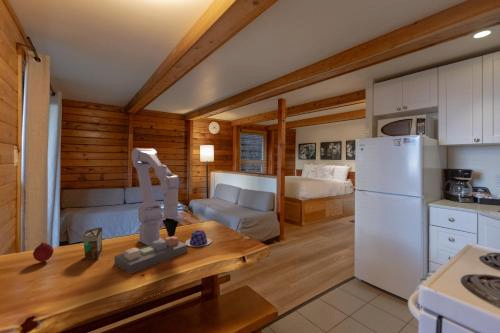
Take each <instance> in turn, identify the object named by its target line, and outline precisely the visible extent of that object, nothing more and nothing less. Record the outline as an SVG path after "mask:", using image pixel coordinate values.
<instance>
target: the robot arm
mask: <svg viewBox="0 0 500 333" xmlns="http://www.w3.org/2000/svg"><path fill="white" fill-rule="evenodd" d="M131 161H132V164H133V168H135V169H136V173H137V178H138V182H139V188H140V193H141V198H142V203H141V205H140V206H138V209H137V214H138V215H137V216H138V222H140V225H139V228H138V229H139V238H138V239H137V242H140V243H142V244H143V245H144V244H145V246H148V245H151V244H152V242H154V241H157V240H161V239H162V240H164V238H161V237H160V235H161V234H160V222H161V221H162V224H163V225H164V227H165V229H166V233H167V237H172V236H174V237H175V236H176V230H177V227H178V225H179V223H183V222H185V221H184V219H185V217H184V216H182V215H181V214H179V188H180V187H181V185H182V182H181V178H180V176H179V174H174V173H172V171H171V170H170V169H169V167H167V165H166V164H162V162H161V161H160V160H159V158H158V152H157V150H156V148H138V147H134V148H133V150H132V151H131ZM151 167H152V168H153V169H154V171H153V172H154V174H155V175H156V176H155V177H156V178H157V179H158V180H159V181H160V187H161V193H162V195H163V208H162V206H161V205H162V204H161V203H160V202H158V201H156V199H155V195H154V192H153V185H152V180H151V177H150V170H149V169H150V168H151Z"/></svg>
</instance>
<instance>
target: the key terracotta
mask: <svg viewBox="0 0 500 333" xmlns="http://www.w3.org/2000/svg"><path fill="white" fill-rule="evenodd" d="M163 239H164V241H167V246H169V247H171V246H174V245H177V244H178V241H179V237H177V236H175V235H174V236H172V237H169V236H167V237H165V238H163Z"/></svg>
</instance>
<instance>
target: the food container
mask: <svg viewBox="0 0 500 333" xmlns="http://www.w3.org/2000/svg"><path fill="white" fill-rule="evenodd" d="M80 239H81V241H83V250H84V257H85V258H84V259H85V260H87V261H98V260H99V259H100V256H101V254H102V252H103V227H102V226H101V227H94V228H89V229H87V230H84V231H83V232H82V234H81V236H80Z"/></svg>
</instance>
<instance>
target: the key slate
mask: <svg viewBox="0 0 500 333" xmlns="http://www.w3.org/2000/svg"><path fill="white" fill-rule="evenodd" d="M162 239H163V238H161V240H157V241H154V242H152V249H154V250H156V251H159V250H162V249H165V248H167V241H164V240H162Z"/></svg>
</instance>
